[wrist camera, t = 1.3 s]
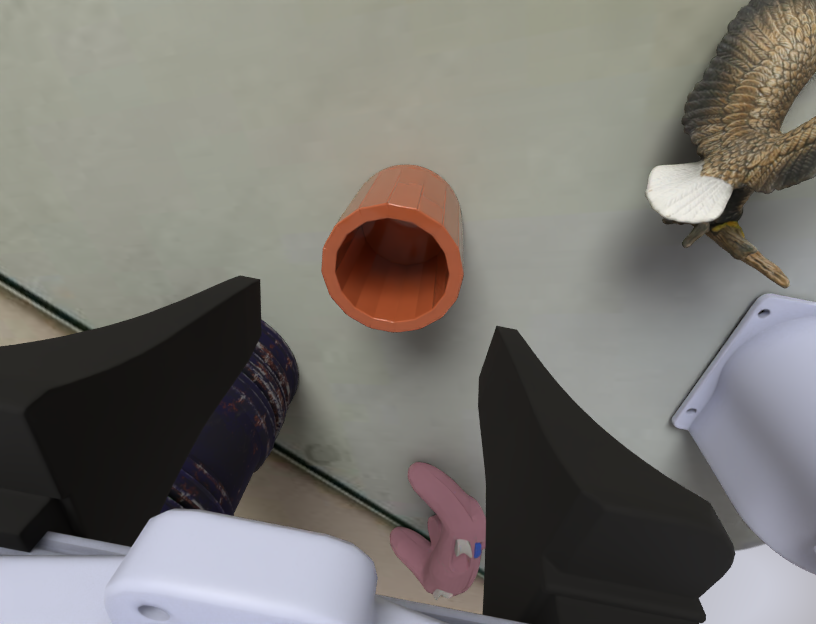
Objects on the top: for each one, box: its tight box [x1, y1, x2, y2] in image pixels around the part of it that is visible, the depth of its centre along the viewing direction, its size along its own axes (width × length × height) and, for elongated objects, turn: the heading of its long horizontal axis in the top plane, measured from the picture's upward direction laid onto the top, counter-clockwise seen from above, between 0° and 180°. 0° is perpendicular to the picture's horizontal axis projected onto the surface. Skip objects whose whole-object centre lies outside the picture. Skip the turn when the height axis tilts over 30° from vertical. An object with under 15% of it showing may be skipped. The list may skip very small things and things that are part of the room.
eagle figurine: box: [645, 0, 816, 288], centre depth 15 cm, size 8×7×9 cm
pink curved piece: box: [390, 462, 486, 600], centre depth 31 cm, size 10×5×7 cm, turn 170°
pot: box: [321, 165, 464, 333], centre depth 19 cm, size 5×5×6 cm
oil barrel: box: [160, 320, 299, 516], centre depth 21 cm, size 10×10×15 cm
